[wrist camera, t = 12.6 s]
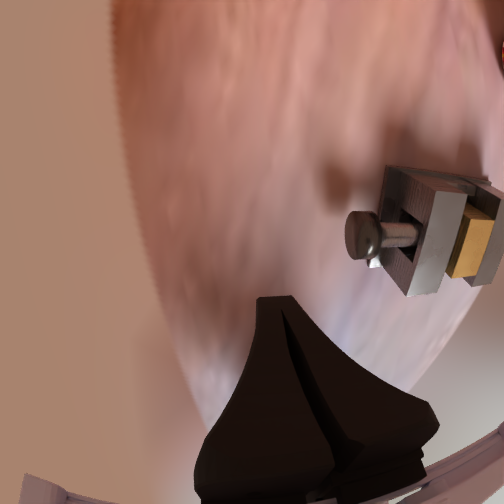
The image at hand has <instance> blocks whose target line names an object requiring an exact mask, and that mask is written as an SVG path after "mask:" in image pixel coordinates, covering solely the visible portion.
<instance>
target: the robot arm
mask: <svg viewBox="0 0 504 504" xmlns="http://www.w3.org/2000/svg"><path fill="white" fill-rule="evenodd" d="M439 426H440V424H439V422H438V420H437V418H436V415H435V414H434V411H433V410H432V408H431V406H430V405H429V403H428V402H427V401H424V400H422V399H419V398H417V397H415V396H413V395H410V394H408V393H406V392H403V391H401V390H400V389H398V388H396V387H394V386H392V385H390V384H388V383H387V382H385V381H383V380H381V379H380V378H378V377H377V376H375V375H374V374H372V373H371V372H369V371H367V370H366V369H364V368H363V367H362V366H360V365H359V364H358V363H356V362H355V361H354V360H353V359H351V358H350V357H349V356H348V355H346V354H345V353H344V352H343V351H342V350H341V349H340V348H339V347H337V346H336V345H335V344H334V343H333V342H332V341H331V340H330V339H329V338H328V337H327V336H326V335H325V334H324V333H323V332H322V330H321V329H320V328H319V327H318V326H317V325H316V324H315V323H314V322H313V321H312V319H311V318H310V317H309V316H308V315H307V314H306V312H305V311H304V310H303V309H302V307H301V306H300V305H299V304H298V302H297V301H296V300H295V299H294V297H293V296H292V295H289V296H272V297H259V298H258V299H257V300H256V329H255V334H254V339H253V342H252V346H251V349H250V353H249V356H248V359H247V362H246V365H245V367H244V370H243V372H242V375H241V377H240V379H239V382H238V384H237V386H236V388H235V390H234V392H233V394H232V396H231V398H230V400H229V402H228V403H227V405H226V407H225V409H224V410H223V412H222V414H221V416H220V417H219V419H218V420H217V422H216V423H215V425H214V426H213V428H212V429H211V431H210V432H209V433H208V435H207V436H206V438H205V440H204V443H203V445H202V448H201V450H200V453H199V456H198V458H197V461H196V464H195V469H194V490H195V492H196V493H197V494H198V496H199V497H200V499H201V504H388V501H389V500H392V499H394V498H396V497H399V496H402V495H404V494H407V493H409V492H411V491H414V490H416V489H418V488H421V487H422V488H421V490H420V491H418V492H416V493H414V494H412V495H410V496H407V497H405V498H404V499H403V500H401V501H400V502H398V503H396V504H482V503H483V502H484V501H485V500H487V499H488V498H489V497H490V496H492V495H493V494H494V493H495V492H496V491H498V490H499V489H500V488H501V487H502V486H503V485H504V422H502V423H501V424H500V426H498V428H497V429H495V430H494V431H492V432H491V433H489V434H488V435H486V436H484V437H483V438H481V439H479V440H478V441H476V442H475V443H472V444H471V445H469V446H467V447H466V448H464V449H462V450H460V451H458V452H456V453H454V454H452V455H450V456H448V457H446V458H444V459H442V460H440V461H438V462H436V463H434V464H432V465H429V466H427V467H425V468H424V466H423V463H422V461H421V458H423V457H424V453H423V451H422V449H421V447H422V446H424V445H425V443H427V442H428V441H429V440H430V439H431V438H432V437H433V436H434V434H435V433H436V432H437V431H438V428H439ZM19 504H117V503H112V502H107V501H102V500H97V499H93V498H89V497H85V496H82V495H78V494H74V493H71V492H67V491H66V490H65V489H64V488H62V487H60V486H59V485H56V484H54V483H52V482H49V481H47V480H43V479H41V478H38V477H35V476H33V475H30V474H28V473H26V474H24V479H23V483H22V488H21V493H20V499H19Z"/></svg>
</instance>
